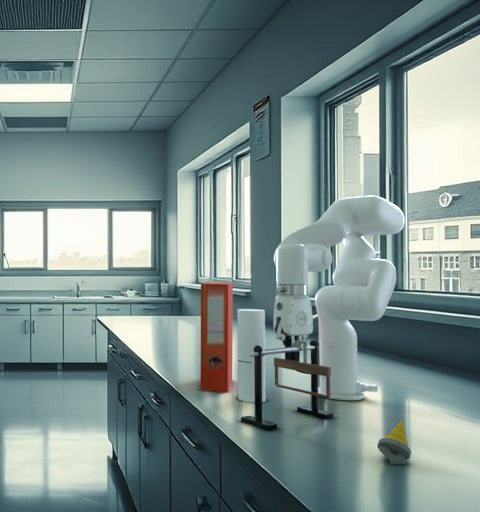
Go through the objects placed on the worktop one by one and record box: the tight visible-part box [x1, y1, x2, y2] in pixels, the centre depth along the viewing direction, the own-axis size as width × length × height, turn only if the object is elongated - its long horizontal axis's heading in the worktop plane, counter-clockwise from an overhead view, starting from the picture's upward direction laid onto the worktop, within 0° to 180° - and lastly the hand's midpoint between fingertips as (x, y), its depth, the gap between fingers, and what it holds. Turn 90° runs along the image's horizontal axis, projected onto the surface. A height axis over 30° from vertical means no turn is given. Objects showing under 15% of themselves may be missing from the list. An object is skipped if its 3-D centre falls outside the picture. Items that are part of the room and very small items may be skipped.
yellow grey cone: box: [377, 420, 412, 465], centre depth 106 cm, size 5×5×10 cm
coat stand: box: [240, 339, 334, 432], centre depth 133 cm, size 23×8×19 cm, turn 117°
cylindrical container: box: [236, 308, 266, 403], centre depth 154 cm, size 7×7×25 cm
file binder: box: [199, 281, 234, 393], centre depth 171 cm, size 8×17×32 cm, turn 156°
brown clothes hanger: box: [273, 340, 331, 399], centre depth 136 cm, size 1×15×13 cm, turn 27°
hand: (292, 361), depth 143 cm, fingers closed
